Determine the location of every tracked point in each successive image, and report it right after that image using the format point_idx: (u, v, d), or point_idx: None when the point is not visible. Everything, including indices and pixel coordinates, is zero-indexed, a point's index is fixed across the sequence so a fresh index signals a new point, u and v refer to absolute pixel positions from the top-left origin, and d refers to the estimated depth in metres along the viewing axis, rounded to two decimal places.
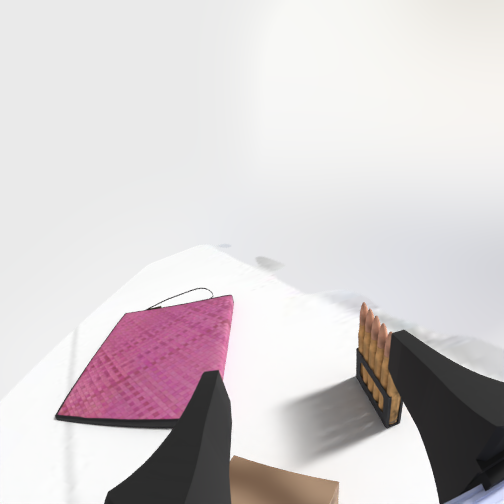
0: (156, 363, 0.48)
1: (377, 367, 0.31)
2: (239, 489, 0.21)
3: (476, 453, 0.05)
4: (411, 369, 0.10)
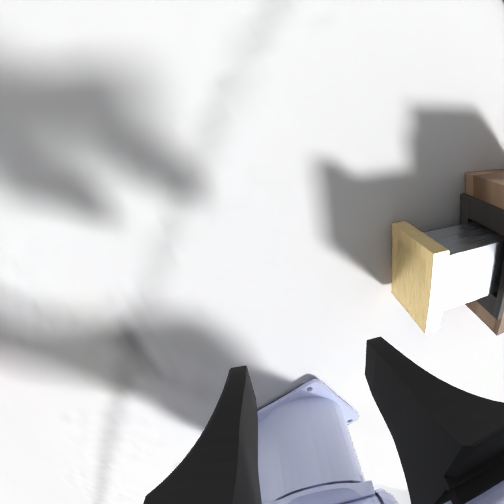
0: None
1: None
2: None
3: (444, 469, 0.05)
4: (385, 378, 0.10)
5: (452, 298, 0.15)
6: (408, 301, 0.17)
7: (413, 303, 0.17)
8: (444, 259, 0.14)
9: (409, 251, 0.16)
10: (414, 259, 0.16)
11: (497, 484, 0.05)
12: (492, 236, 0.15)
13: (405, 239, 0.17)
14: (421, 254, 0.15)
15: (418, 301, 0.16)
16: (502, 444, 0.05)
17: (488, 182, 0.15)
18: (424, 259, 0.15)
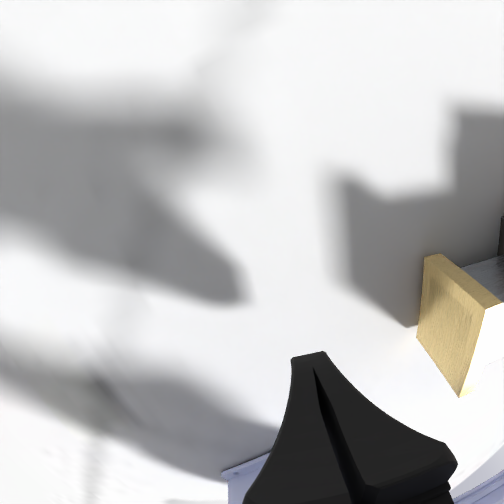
0: None
1: None
2: None
3: (359, 501, 0.05)
4: (320, 395, 0.10)
5: (492, 352, 0.11)
6: (439, 354, 0.13)
7: (446, 358, 0.12)
8: (496, 314, 0.09)
9: (448, 297, 0.12)
10: (454, 308, 0.11)
11: None
12: None
13: (443, 281, 0.12)
14: (466, 305, 0.10)
15: (454, 358, 0.11)
16: (428, 483, 0.05)
17: None
18: (470, 312, 0.10)
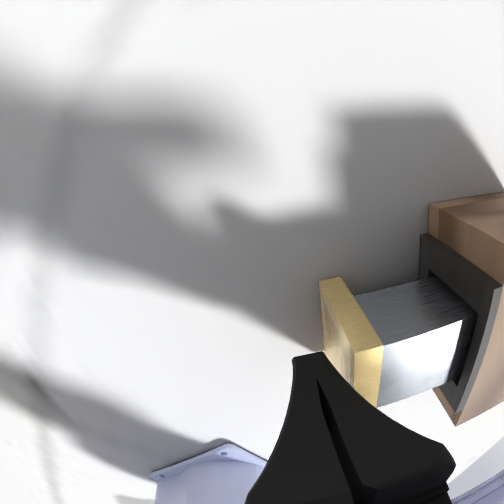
0: None
1: None
2: None
3: (356, 502, 0.05)
4: (319, 395, 0.10)
5: (396, 391, 0.11)
6: None
7: None
8: (374, 357, 0.09)
9: (334, 328, 0.12)
10: (338, 342, 0.11)
11: None
12: None
13: (330, 310, 0.12)
14: (343, 342, 0.10)
15: None
16: (426, 484, 0.05)
17: (459, 222, 0.11)
18: (346, 351, 0.10)
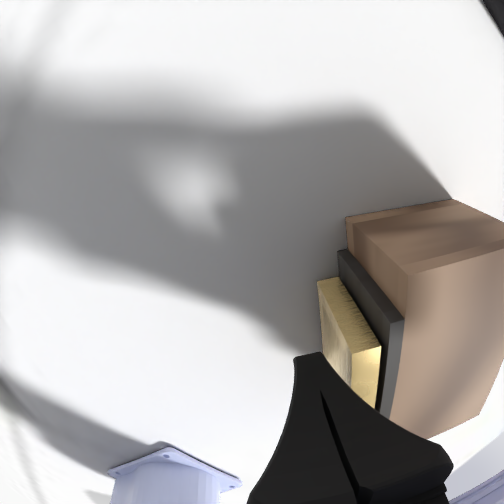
0: None
1: None
2: (466, 321, 0.09)
3: None
4: None
5: None
6: None
7: None
8: (372, 358, 0.09)
9: (332, 329, 0.12)
10: (336, 343, 0.11)
11: None
12: None
13: (328, 310, 0.12)
14: (341, 342, 0.10)
15: None
16: (423, 485, 0.05)
17: (367, 240, 0.11)
18: (344, 351, 0.10)
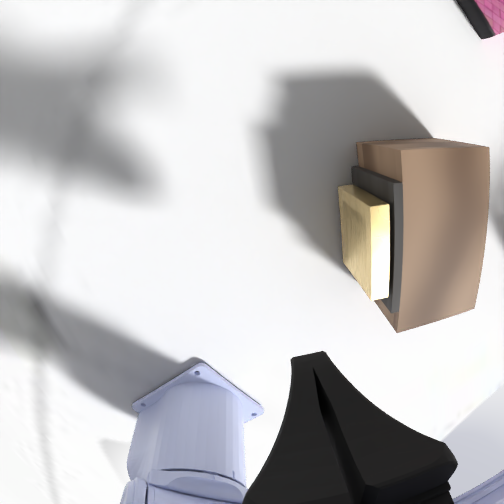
0: None
1: None
2: (447, 196, 0.13)
3: (359, 501, 0.05)
4: (320, 395, 0.10)
5: None
6: (355, 267, 0.17)
7: (359, 267, 0.17)
8: (384, 213, 0.14)
9: (352, 211, 0.16)
10: (356, 218, 0.16)
11: None
12: None
13: (348, 199, 0.17)
14: (360, 211, 0.15)
15: (363, 264, 0.16)
16: (428, 483, 0.05)
17: (373, 147, 0.15)
18: (363, 215, 0.15)
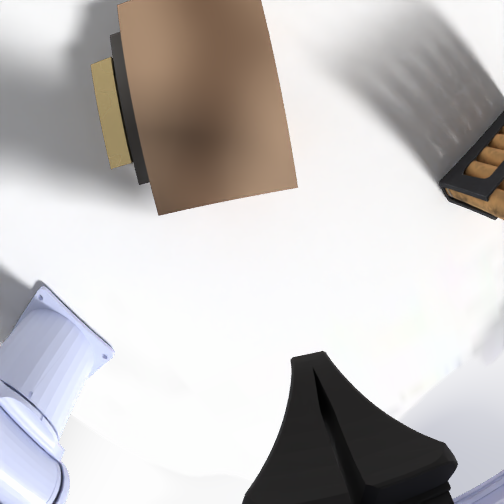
0: None
1: None
2: (184, 31, 0.10)
3: (359, 501, 0.05)
4: (320, 395, 0.10)
5: None
6: None
7: None
8: (105, 67, 0.11)
9: None
10: None
11: None
12: None
13: None
14: None
15: None
16: (428, 483, 0.05)
17: None
18: None
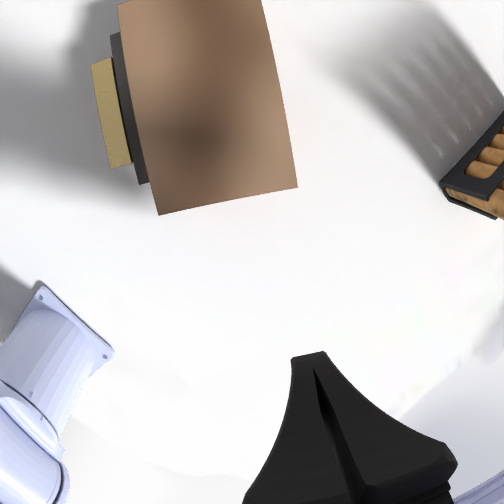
0: None
1: None
2: (184, 31, 0.10)
3: (359, 501, 0.05)
4: (320, 395, 0.10)
5: None
6: None
7: None
8: (105, 67, 0.11)
9: None
10: None
11: None
12: None
13: None
14: None
15: None
16: (428, 483, 0.05)
17: None
18: None
